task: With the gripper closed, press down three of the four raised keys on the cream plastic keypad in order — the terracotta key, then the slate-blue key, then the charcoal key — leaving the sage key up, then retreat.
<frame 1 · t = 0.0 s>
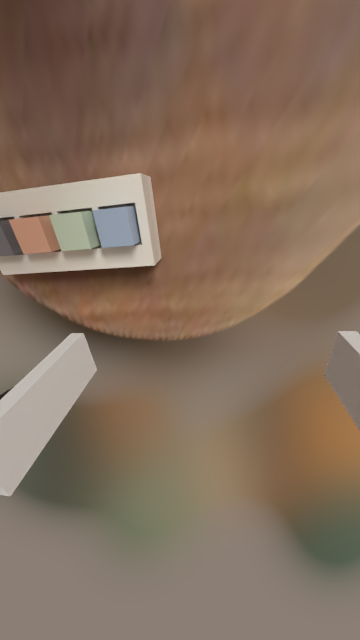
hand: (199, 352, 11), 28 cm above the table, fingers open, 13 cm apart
slate key: (117, 227, 30), point 6 cm above the table, slide at 0.0 cm
keypad: (78, 228, 37), on the table
terracotta key: (37, 234, 32), point 6 cm above the table, slide at 0.0 cm
sage key: (76, 231, 31), point 6 cm above the table, slide at 0.0 cm
charcoal key: (1, 238, 33), point 6 cm above the table, slide at 0.0 cm
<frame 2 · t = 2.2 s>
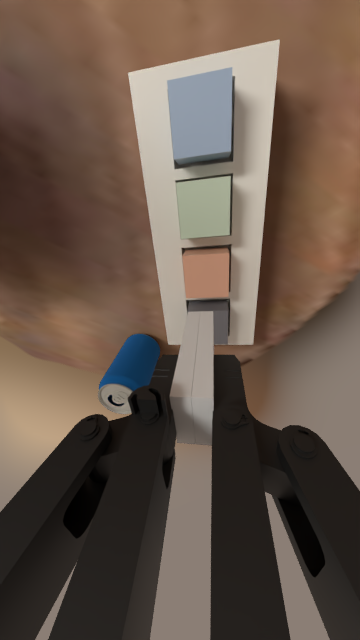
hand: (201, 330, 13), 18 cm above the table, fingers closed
slate key: (201, 123, 18), point 6 cm above the table, slide at 0.0 cm
keypad: (206, 235, 28), on the table
beverage can: (144, 345, 39), on the table
terracotta key: (206, 273, 24), point 6 cm above the table, slide at 0.0 cm
sage key: (204, 209, 21), point 6 cm above the table, slide at 0.0 cm
charcoal key: (208, 322, 27), point 6 cm above the table, slide at 0.0 cm
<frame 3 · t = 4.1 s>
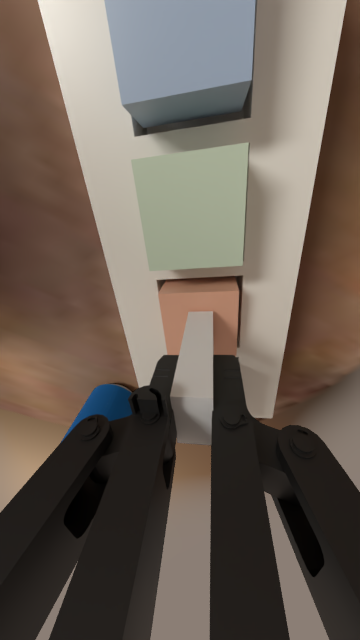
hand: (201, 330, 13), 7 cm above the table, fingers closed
slate key: (182, 21, 8), point 6 cm above the table, slide at 0.0 cm
keypad: (201, 253, 18), on the table
beverage can: (118, 395, 28), on the table
terracotta key: (200, 316, 15), point 5 cm above the table, slide at 1.0 cm, touching gripper
sage key: (193, 214, 11), point 6 cm above the table, slide at 0.0 cm
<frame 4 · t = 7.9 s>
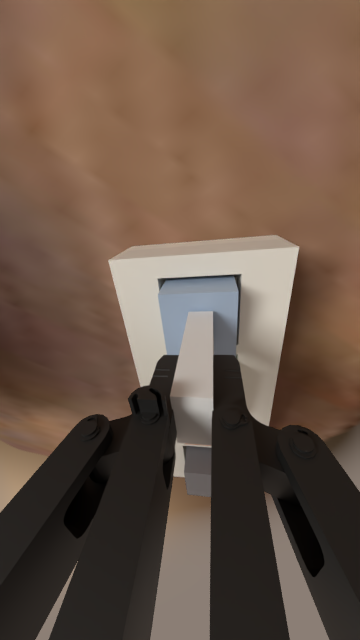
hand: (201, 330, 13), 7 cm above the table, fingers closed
slate key: (200, 316, 15), point 5 cm above the table, slide at 0.5 cm, touching gripper
keypad: (206, 368, 24), on the table
terracotta key: (206, 418, 22), point 4 cm above the table, slide at 1.9 cm
charcoal key: (208, 470, 24), point 6 cm above the table, slide at 0.0 cm
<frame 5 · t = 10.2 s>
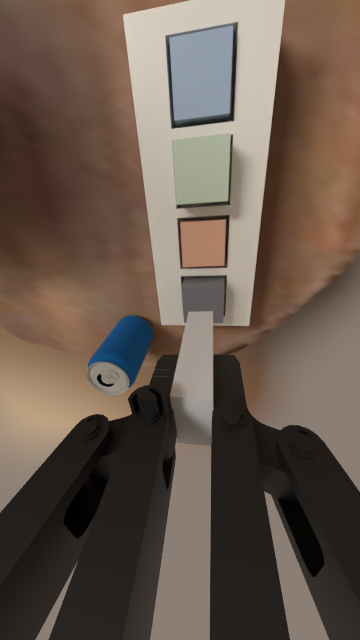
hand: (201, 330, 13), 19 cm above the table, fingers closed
slate key: (201, 85, 18), point 4 cm above the table, slide at 1.9 cm
keypad: (204, 209, 27), on the table
beverage can: (136, 329, 37), on the table
terracotta key: (203, 242, 25), point 4 cm above the table, slide at 1.9 cm
sage key: (202, 173, 20), point 6 cm above the table, slide at 0.0 cm
charcoal key: (203, 300, 26), point 6 cm above the table, slide at 0.0 cm
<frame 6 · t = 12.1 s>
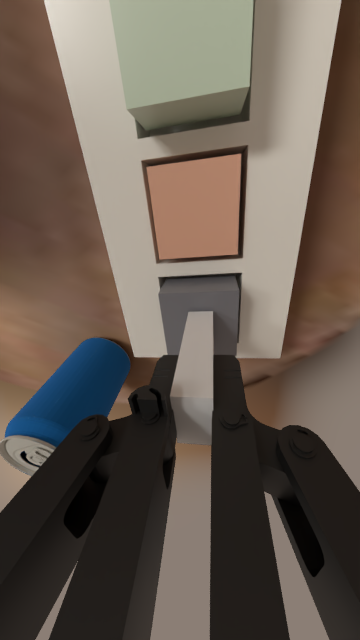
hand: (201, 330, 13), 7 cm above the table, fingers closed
keypad: (197, 158, 15), on the table
beverage can: (107, 355, 26), on the table
terracotta key: (196, 212, 13), point 4 cm above the table, slide at 1.9 cm
sage key: (184, 30, 8), point 6 cm above the table, slide at 0.0 cm
charcoal key: (200, 315, 15), point 6 cm above the table, slide at 0.4 cm, touching gripper
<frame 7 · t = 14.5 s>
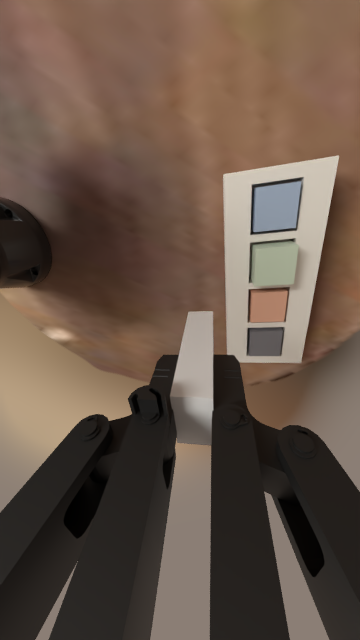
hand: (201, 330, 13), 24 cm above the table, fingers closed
slate key: (273, 208, 26), point 4 cm above the table, slide at 1.9 cm
keypad: (262, 275, 34), on the table
terracotta key: (266, 303, 32), point 4 cm above the table, slide at 1.9 cm
sage key: (272, 264, 28), point 6 cm above the table, slide at 0.0 cm
charcoal key: (263, 339, 35), point 4 cm above the table, slide at 1.9 cm
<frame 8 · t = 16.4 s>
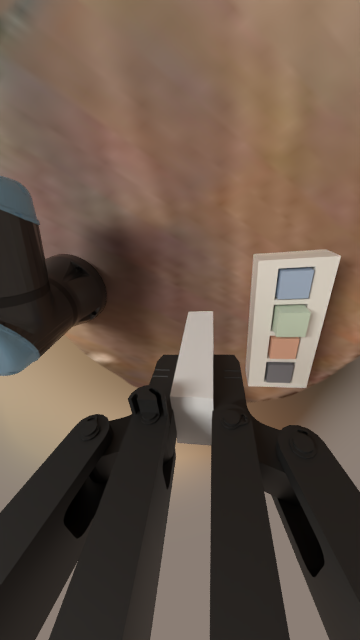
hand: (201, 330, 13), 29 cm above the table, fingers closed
slate key: (292, 282, 36), point 4 cm above the table, slide at 1.9 cm
keypad: (278, 320, 44), on the table
terracotta key: (281, 344, 42), point 4 cm above the table, slide at 1.9 cm
sage key: (290, 321, 37), point 6 cm above the table, slide at 0.0 cm
charcoal key: (277, 369, 45), point 4 cm above the table, slide at 1.9 cm
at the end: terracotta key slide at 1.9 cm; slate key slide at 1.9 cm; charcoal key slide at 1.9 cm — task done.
